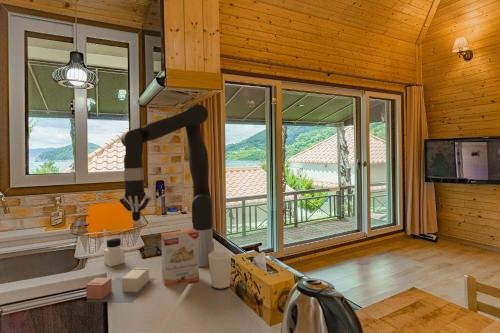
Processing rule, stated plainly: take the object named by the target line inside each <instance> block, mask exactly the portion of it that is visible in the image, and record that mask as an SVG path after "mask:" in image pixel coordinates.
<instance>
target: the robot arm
mask: <svg viewBox="0 0 500 333" xmlns="http://www.w3.org/2000/svg"><path fill="white" fill-rule="evenodd" d="M208 117H209V111H208V110H207V107H206V106H204V105H202V104H198V103H197V104H193V105H190V106H188V107H186V108H185V110H184V111H182V112H180V113H177V114H175V115H172V116H169V117H166V118H161V119H159V120H156V121H153V122H150V123H148V124H144V126H141V127H137V128H134V129H131V130H128V131H125V132H124V133H123V134H122V135H121V138H120V142H121V144H122V145H123V147H125V154H124V157H123V167H124V168H123V170H124V172H123V180H124V191H125V193H124V196H123V197H122V198H120V199H119V203H120V204H121V205H122V206H123V207H124V208H125V210H127V211H128V212H131V213H132V215H131V216H132V220H133V221H134V222H139V221H140V220H141V218H142V217H141V212H142V211H143V210H145V209H146V208H147V206H148V204H149V203H150V202H151V201H152V198H151V197H150V196H147V195H146V192H145V174H144V168H143V167H144V166H143V158H142V156H143V149H144V143H146V142H149V141H154V140H158V139H160V138H162V137H164V136H165V137H166V136H167V135H169V134H171V133H174V132H176V131H178V130H180V129H183V128H185V133H186V140H187V157H188V166H189V172H190V175H191V179H192V183H193V184H192V185H193V199H192V202H191V224H192V229H195V230H196V231H197V232H199V268H205V267H210V266H209V258H208V254H209V253H211V252H214V251H215V243H214V241H213V240H214V239H213V208H212V207H213V200H212V196H211V191H210V185H209V183H210V182H209V178H210V177H209V176H210V173H209V172H210V169H209V168H210V164H209V163H210V162H209V155H208V154H209V153H208V150H207V147H206V145H205V142H204V139H203V138H202V133H201V130H202V128H201V125H202V124H203V123H205V122H206V121H207V120H208ZM142 202H143V203H142Z"/></svg>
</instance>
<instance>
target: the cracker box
mask: <svg viewBox="0 0 500 333" xmlns="http://www.w3.org/2000/svg"><path fill="white" fill-rule="evenodd" d="M160 234H161V235H160V236H161V276H162V277H161V278H162V279H161V281H162V284H163V285H164V287H168V286H173V285H177V284H182V283H186V282H187V283H188V284H194V283H198V282H200V267H199V232H197V231H196V230H195V229H193V228H191V229H185V230H178V231H177V230H175V231H170V232H169V231H168V232H163V233H162V232H161V233H160Z"/></svg>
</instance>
